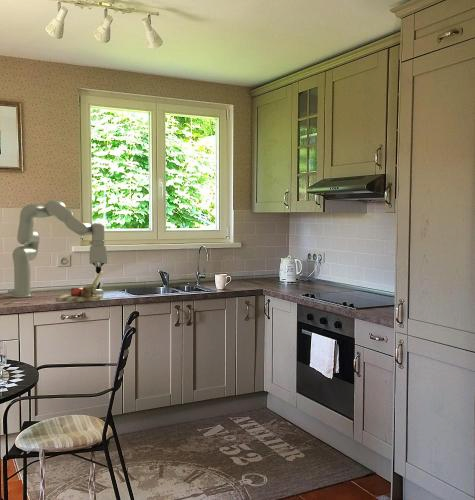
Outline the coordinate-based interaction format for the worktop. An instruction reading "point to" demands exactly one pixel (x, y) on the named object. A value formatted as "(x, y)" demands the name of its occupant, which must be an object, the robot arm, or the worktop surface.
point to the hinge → (98, 286)
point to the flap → (97, 278)
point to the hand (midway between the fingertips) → (98, 273)
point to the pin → (78, 291)
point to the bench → (78, 298)
